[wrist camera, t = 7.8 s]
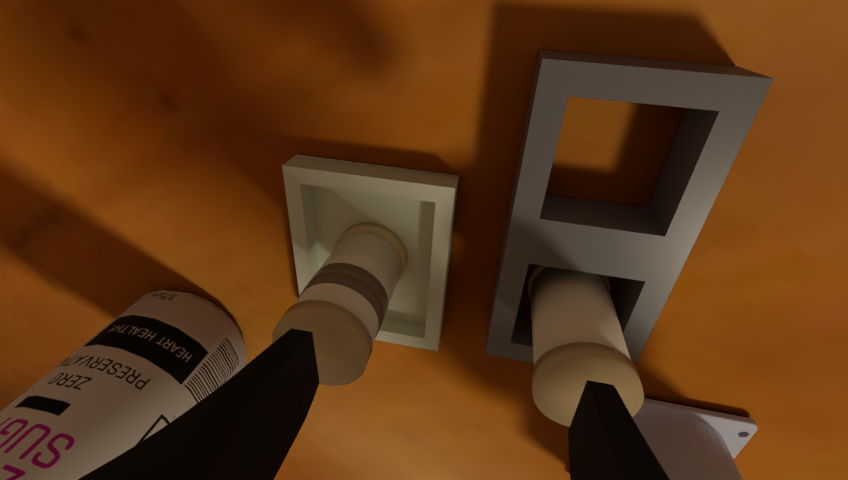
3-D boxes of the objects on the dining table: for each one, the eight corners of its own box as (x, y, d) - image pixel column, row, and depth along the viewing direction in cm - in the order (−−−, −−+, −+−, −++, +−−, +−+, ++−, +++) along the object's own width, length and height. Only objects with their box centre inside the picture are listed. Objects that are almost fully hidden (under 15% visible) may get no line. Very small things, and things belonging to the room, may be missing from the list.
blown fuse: (405, 288, 22) (366, 393, 16) (339, 276, 23) (278, 374, 17) (409, 228, 20) (366, 325, 14) (337, 216, 21) (266, 305, 15)
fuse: (594, 315, 21) (624, 438, 16) (521, 303, 22) (523, 418, 16) (616, 256, 19) (660, 370, 14) (535, 244, 20) (544, 350, 14)
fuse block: (617, 343, 22) (627, 380, 20) (487, 321, 23) (484, 354, 21) (736, 66, 15) (773, 78, 13) (539, 49, 16) (542, 58, 13)
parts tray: (441, 332, 24) (437, 351, 23) (314, 309, 25) (303, 326, 24) (459, 175, 19) (455, 188, 18) (296, 154, 20) (281, 165, 19)
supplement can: (200, 381, 32) (-9, 637, 19) (120, 302, 29) (-193, 547, 16) (275, 358, 28) (84, 649, 16) (194, 267, 25) (-124, 539, 13)
